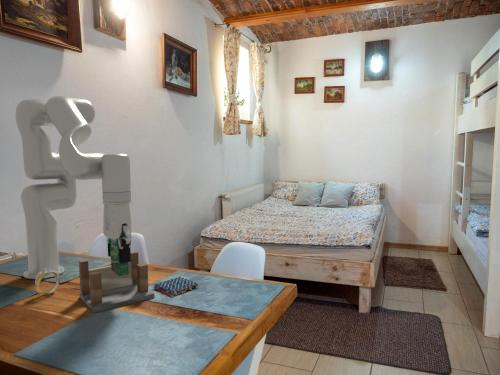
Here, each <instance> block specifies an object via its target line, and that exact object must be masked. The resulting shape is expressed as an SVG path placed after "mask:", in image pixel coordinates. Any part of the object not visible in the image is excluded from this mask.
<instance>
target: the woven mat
mask: <svg viewBox="0 0 500 375" xmlns="http://www.w3.org/2000/svg"><path fill="white" fill-rule="evenodd" d="M194 287H196V288H194ZM152 288H153V289H154V290H157V291H158V290H159V291H158V292H160V291H161V292H160V293H164V294H165V295H168V296H170V297H175V296H177V295H181V294H183V293H187V291H186V290H189V291H192V290H193V289H192V288H194V289H198V288H199V284H198V283H197V282H196V281H193V280H191V279H187V278H184V277H181V276H178V277H174V278H170V279H169V280H168V279H167V280H164V281H161V282H158V283H154V286H153V287H152Z"/></svg>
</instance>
